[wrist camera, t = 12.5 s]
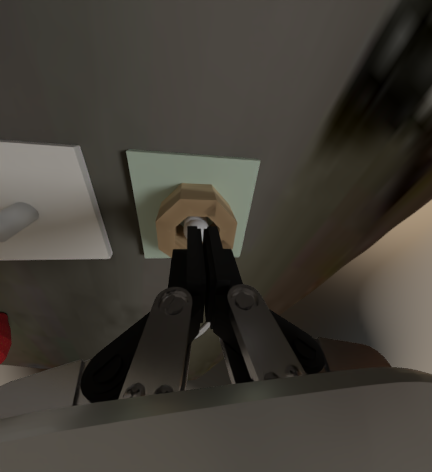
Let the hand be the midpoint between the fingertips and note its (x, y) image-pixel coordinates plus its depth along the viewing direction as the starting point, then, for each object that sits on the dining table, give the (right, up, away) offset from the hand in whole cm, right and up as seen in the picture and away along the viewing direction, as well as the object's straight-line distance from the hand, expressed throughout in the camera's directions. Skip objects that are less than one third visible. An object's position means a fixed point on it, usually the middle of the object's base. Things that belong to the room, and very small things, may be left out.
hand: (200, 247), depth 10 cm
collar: (-1, +3, +9) cm, 9 cm away
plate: (-1, +3, +10) cm, 10 cm away
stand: (-17, +3, +7) cm, 19 cm away
